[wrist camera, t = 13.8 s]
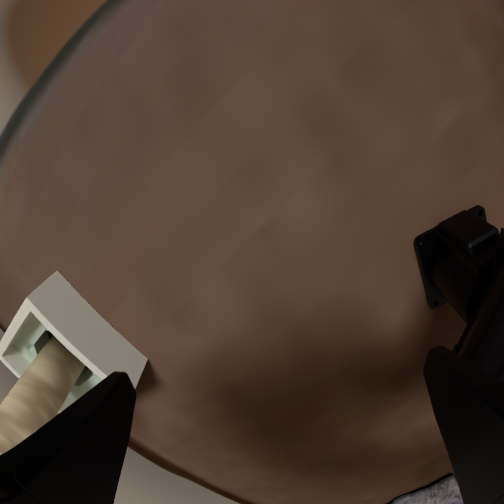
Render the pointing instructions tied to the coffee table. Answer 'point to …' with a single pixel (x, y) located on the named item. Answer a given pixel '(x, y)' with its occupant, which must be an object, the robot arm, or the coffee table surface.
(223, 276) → the coffee table surface
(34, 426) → the peg
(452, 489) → the geode
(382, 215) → the coffee table surface
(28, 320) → the bore box
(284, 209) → the coffee table surface
